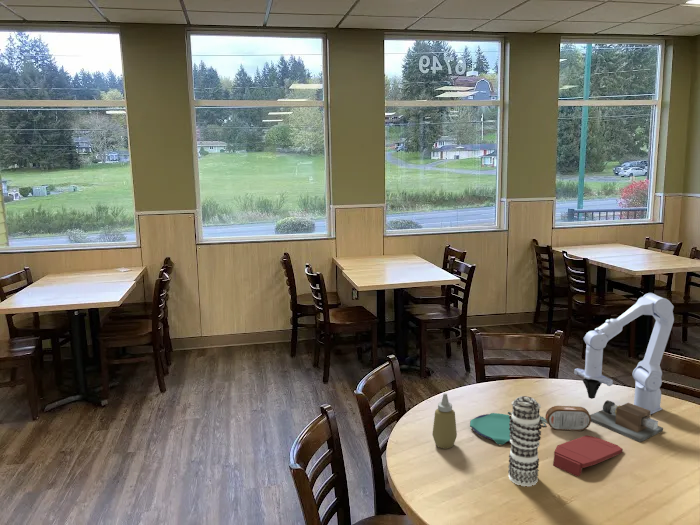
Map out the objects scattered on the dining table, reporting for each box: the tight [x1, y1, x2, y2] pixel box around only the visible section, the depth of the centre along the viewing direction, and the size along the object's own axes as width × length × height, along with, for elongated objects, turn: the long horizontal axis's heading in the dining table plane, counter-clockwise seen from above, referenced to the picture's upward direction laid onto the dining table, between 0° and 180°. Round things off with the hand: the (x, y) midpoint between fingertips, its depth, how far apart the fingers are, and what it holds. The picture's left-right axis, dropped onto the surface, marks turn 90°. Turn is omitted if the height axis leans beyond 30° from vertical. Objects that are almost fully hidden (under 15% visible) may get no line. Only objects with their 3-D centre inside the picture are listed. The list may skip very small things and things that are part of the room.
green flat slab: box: [469, 411, 549, 446], centre depth 195 cm, size 20×30×2 cm, turn 120°
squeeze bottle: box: [432, 393, 458, 450], centre depth 182 cm, size 8×8×18 cm
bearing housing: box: [590, 402, 664, 443], centre depth 195 cm, size 14×20×7 cm
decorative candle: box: [507, 395, 543, 487], centre depth 161 cm, size 9×9×25 cm
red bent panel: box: [552, 434, 624, 477], centre depth 175 cm, size 12×5×25 cm
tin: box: [544, 405, 592, 432], centre depth 192 cm, size 15×3×8 cm, turn 84°
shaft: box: [602, 400, 659, 430], centre depth 193 cm, size 4×18×4 cm, turn 32°
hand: (591, 397), depth 206 cm, fingers closed
